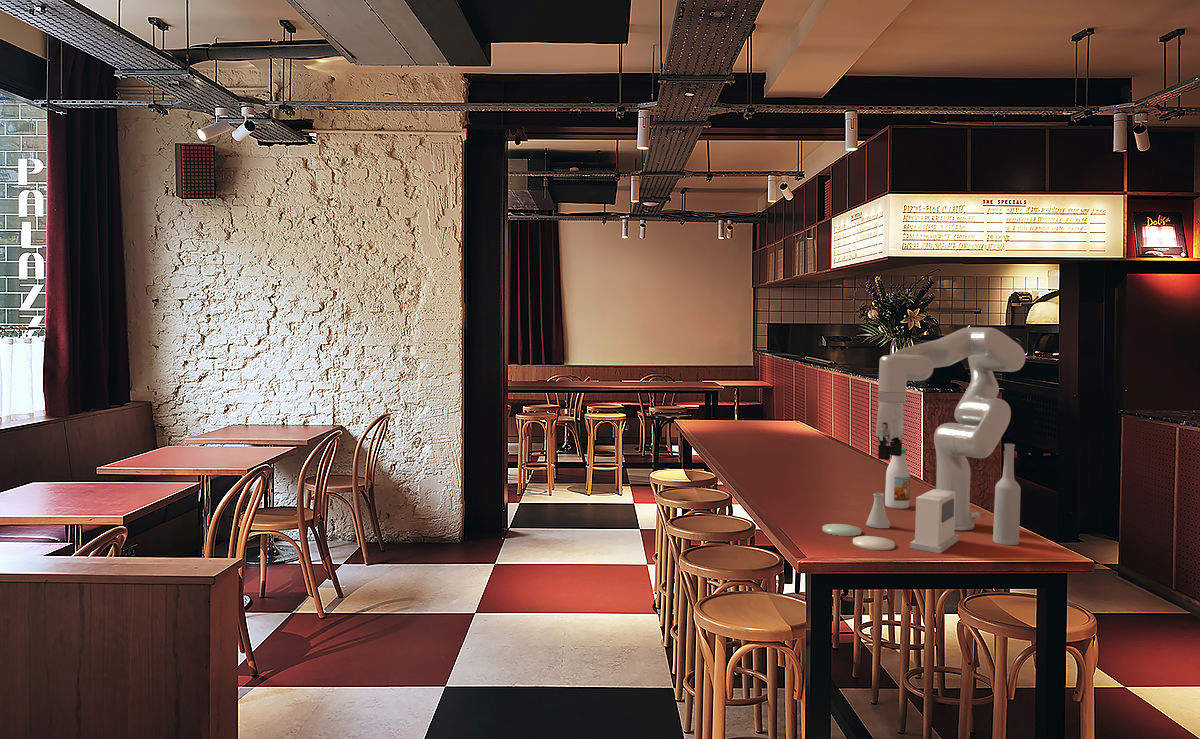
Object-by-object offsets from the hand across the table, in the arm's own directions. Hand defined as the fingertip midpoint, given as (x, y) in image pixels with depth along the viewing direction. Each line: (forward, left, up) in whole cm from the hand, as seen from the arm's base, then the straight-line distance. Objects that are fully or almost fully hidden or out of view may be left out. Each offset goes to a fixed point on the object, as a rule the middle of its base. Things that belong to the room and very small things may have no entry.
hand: (889, 457), depth 231 cm
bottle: (-28, +16, -23) cm, 40 cm away
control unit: (-7, +11, -23) cm, 26 cm away
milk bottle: (-31, -31, -23) cm, 49 cm away
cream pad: (+10, +6, -23) cm, 26 cm away
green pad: (+9, -9, -23) cm, 26 cm away
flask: (-6, -11, -23) cm, 26 cm away
